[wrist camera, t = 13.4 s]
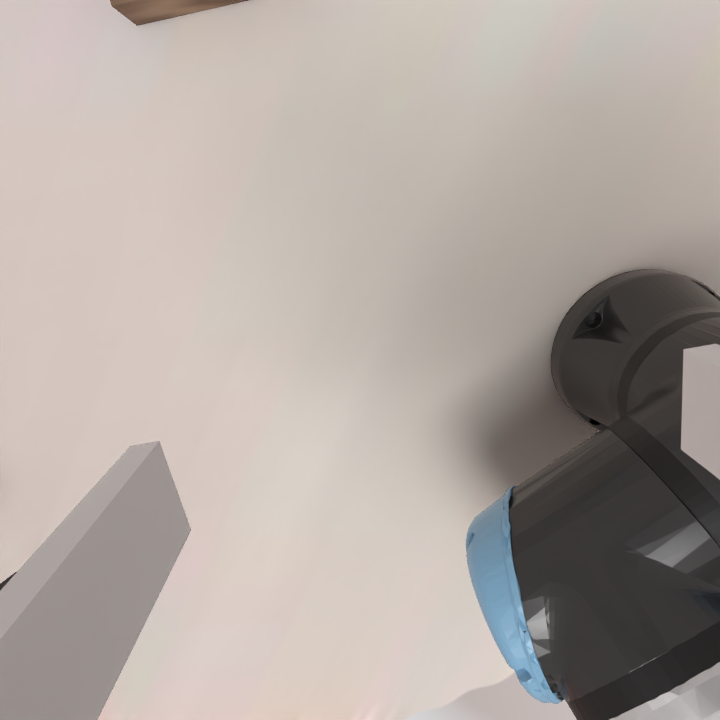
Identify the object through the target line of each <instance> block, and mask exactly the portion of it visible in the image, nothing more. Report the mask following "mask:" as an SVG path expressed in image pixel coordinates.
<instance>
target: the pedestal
mask: <svg viewBox="0 0 720 720" xmlns="http://www.w3.org/2000/svg"><path fill="white" fill-rule="evenodd" d="M243 1H247V0H110V2H111V5H112V7H114V8H115V9H116V10H118V11H119V12H120V13H122V14H123V15H124V16H125V17H127V18H128V19H129V20H131V21H132V22H133V23H135V24H136V25H142V24H146V23H150V22H155V21H159V20H164V19H168V18H172V17H177V16H181V15H186V14H190V13H194V12H199V11H203V10H208V9H212V8H216V7H221V6H225V5H230V4H234V3H238V2H243Z"/></svg>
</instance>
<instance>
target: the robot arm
mask: <svg viewBox="0 0 720 720" xmlns="http://www.w3.org/2000/svg"><path fill="white" fill-rule="evenodd" d="M551 369H552V376H553V380H554V384H555V386H556V389H557V391H558V393H559V395H560V396H561V398H562V399H563V401H564V402H565V403H566V404H567V405H568V407H569V408H570V409H571V410H572V411H574V412H575V413H576V414H577V415H578V416H579V417H580V418H581V419H582V420H583V421H585V422H586V423H588V424H589V425H591V426H593V427H594V428H596V429H598V430H601V431H600V432H598V433H597V434H595V435H594V436H592V437H591V438H589V439H588V440H586V441H585V442H583V443H582V444H580V445H579V446H577V447H576V448H574V449H573V450H571V451H570V452H568V453H567V454H565V455H564V456H562V457H561V458H559V459H558V460H556V461H555V462H553V463H552V464H550V465H549V466H547V467H546V468H544V469H543V470H541V471H540V472H538V473H537V474H535V475H534V476H532V477H531V478H529V479H528V480H526V481H525V482H523V483H522V484H520V485H519V486H515V485H514V486H512V487H510V488H509V489H508V490H507V491H506V493H505V495H504V496H503V497H501V498H500V499H499V500H497V501H496V502H495V503H493V504H492V505H491V506H489V507H488V508H487V509H485V510H484V511H483V512H481V513H480V514H479V515H478V516H476V517H475V519H474V520H473V521H472V523H471V525H470V527H469V529H468V532H467V538H466V551H467V555H466V556H467V563H468V568H469V572H470V577H471V580H472V584H473V587H474V590H475V593H476V596H477V599H478V602H479V605H480V607H481V610H482V613H483V615H484V618H485V620H486V622H487V624H488V627H489V629H490V631H491V633H492V635H493V637H494V640H495V642H496V644H497V646H498V648H499V650H500V651H501V653H502V655H503V657H504V659H505V660H506V662H507V663H508V665H509V666H510V667H511V668H512V669H514V670H515V672H516V674H517V677H518V679H519V681H520V683H521V684H522V686H523V687H524V688H525V689H526V690H527V692H528V693H529V694H530V695H531V696H532V697H534V698H535V699H537V700H539V701H540V702H543V703H554V704H558V703H559V702H561V701H562V700H564V699H565V701H566V702H567V703H568V705H569V707H570V708H571V710H572V712H573V713H574V715H575V717H576V719H577V720H720V297H719V296H718V295H717V294H716V293H715V292H714V291H712V290H711V289H710V288H709V287H707V286H706V285H704V284H702V283H700V282H699V281H697V280H695V279H692V278H690V277H687V276H683V275H680V274H676V273H672V272H668V271H663V270H653V269H650V270H636V271H631V272H627V273H623V274H620V275H617V276H615V277H612V278H610V279H608V280H606V281H604V282H602V283H600V284H599V285H597V286H596V287H594V288H593V289H591V290H590V291H589V292H587V293H586V294H585V295H584V296H583V297H582V298H581V299H579V301H578V302H577V303H576V304H575V305H574V306H573V307H572V308H571V310H570V311H569V312H568V314H567V315H566V317H565V318H564V320H563V322H562V323H561V325H560V327H559V330H558V332H557V334H556V337H555V340H554V344H553V348H552V355H551ZM190 531H191V528H190V526H189V523H188V520H187V517H186V514H185V512H184V509H183V506H182V503H181V500H180V498H179V495H178V492H177V489H176V486H175V484H174V481H173V478H172V475H171V472H170V470H169V467H168V464H167V461H166V458H165V456H164V453H163V450H162V447H161V444H160V442H159V441H157V442H151V443H146V444H140V445H134V446H130V447H129V448H128V449H127V451H126V452H125V453H124V454H123V455H122V456H121V457H120V458H119V459H118V461H117V462H116V463H115V464H114V465H113V466H112V467H111V468H110V469H109V471H108V472H107V473H106V474H105V475H104V476H103V477H102V478H101V479H100V481H99V482H98V483H97V484H96V485H95V486H94V487H93V488H92V489H91V491H90V492H89V493H88V494H87V495H86V496H85V497H84V498H83V499H82V501H81V502H80V503H79V504H78V505H77V506H76V507H75V508H74V509H73V511H72V512H71V513H70V514H69V515H68V516H67V517H66V518H65V519H64V521H63V522H62V523H61V524H60V525H59V526H58V527H57V528H56V529H55V531H54V532H53V533H52V534H51V535H50V536H49V537H48V538H47V539H46V541H45V542H44V543H43V544H42V545H41V546H40V547H39V548H38V549H37V551H36V552H35V553H34V554H33V555H32V556H31V557H30V558H29V559H28V561H27V562H26V563H25V564H24V565H23V566H22V567H21V568H20V569H19V571H18V572H15V573H14V574H13V575H11V576H10V577H9V578H7V579H6V580H5V581H4V582H2V583H1V584H0V720H97V719H98V717H99V715H100V713H101V711H102V709H103V707H104V705H105V703H106V701H107V699H108V697H109V695H110V693H111V691H112V689H113V687H114V685H115V683H116V681H117V679H118V677H119V675H120V673H121V671H122V669H123V667H124V665H125V663H126V661H127V659H128V657H129V655H130V653H131V651H132V649H133V647H134V644H135V642H136V640H137V638H138V636H139V634H140V632H141V630H142V628H143V626H144V624H145V622H146V620H147V618H148V616H149V614H150V612H151V610H152V608H153V606H154V604H155V602H156V600H157V598H158V596H159V594H160V592H161V590H162V588H163V586H164V584H165V582H166V580H167V578H168V576H169V574H170V572H171V570H172V568H173V566H174V563H175V561H176V559H177V557H178V555H179V553H180V551H181V549H182V547H183V545H184V543H185V541H186V539H187V537H188V535H189V533H190Z"/></svg>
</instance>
